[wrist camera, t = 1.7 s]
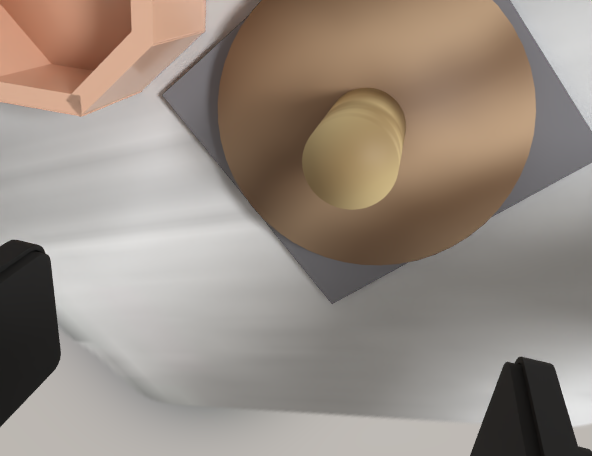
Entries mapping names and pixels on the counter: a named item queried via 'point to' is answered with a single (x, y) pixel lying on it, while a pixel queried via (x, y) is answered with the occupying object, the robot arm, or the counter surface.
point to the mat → (535, 176)
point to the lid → (376, 122)
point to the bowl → (90, 49)
